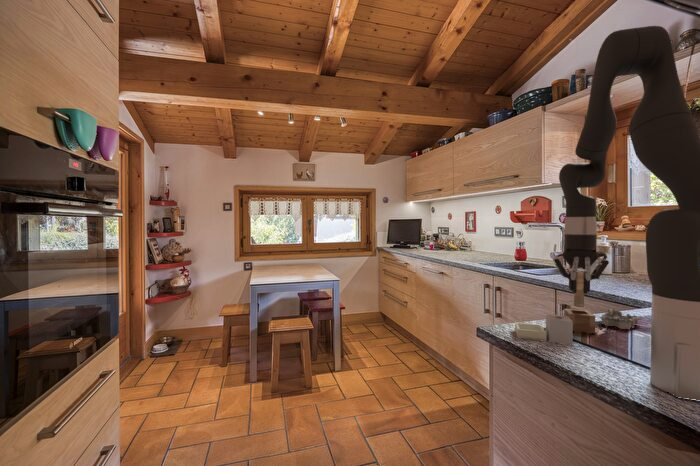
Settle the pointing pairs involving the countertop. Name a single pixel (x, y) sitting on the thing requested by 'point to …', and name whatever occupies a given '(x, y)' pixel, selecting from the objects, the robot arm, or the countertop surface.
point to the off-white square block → (559, 329)
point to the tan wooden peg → (579, 289)
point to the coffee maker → (596, 260)
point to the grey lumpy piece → (618, 319)
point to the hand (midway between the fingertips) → (579, 292)
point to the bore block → (581, 320)
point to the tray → (530, 331)
